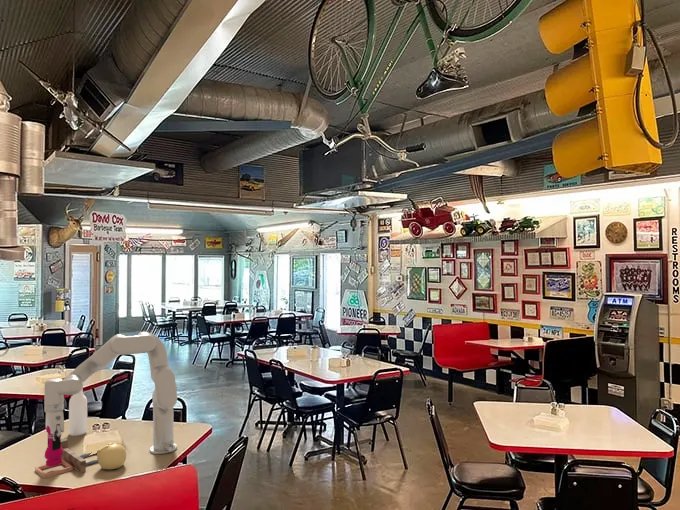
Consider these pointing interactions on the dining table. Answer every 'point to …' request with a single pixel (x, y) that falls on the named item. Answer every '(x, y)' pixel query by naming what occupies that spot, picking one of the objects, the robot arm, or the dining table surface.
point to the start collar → (89, 461)
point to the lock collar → (40, 472)
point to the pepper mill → (52, 452)
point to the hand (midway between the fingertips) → (54, 447)
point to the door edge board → (72, 457)
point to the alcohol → (78, 414)
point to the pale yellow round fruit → (111, 456)
